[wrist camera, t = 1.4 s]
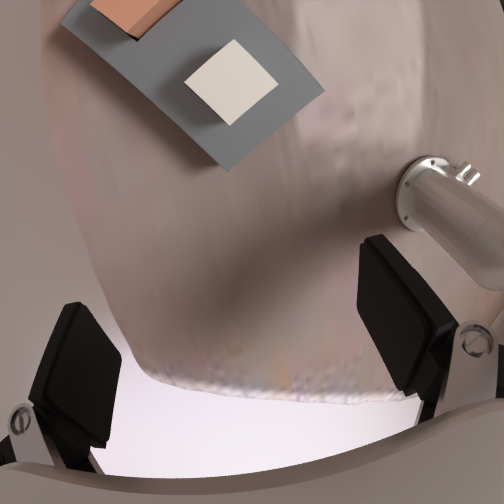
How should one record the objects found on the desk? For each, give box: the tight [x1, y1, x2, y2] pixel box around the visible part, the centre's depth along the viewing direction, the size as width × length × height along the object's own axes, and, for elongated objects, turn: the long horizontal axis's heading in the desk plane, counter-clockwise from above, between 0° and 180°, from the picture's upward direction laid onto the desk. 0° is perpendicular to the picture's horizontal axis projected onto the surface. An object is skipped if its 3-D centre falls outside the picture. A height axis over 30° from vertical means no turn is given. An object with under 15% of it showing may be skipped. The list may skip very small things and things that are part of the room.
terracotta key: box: [90, 0, 181, 39], centre depth 18 cm, size 6×6×5 cm
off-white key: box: [184, 39, 279, 126], centre depth 25 cm, size 6×6×5 cm
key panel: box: [60, 0, 325, 172], centre depth 24 cm, size 14×28×4 cm, turn 42°
